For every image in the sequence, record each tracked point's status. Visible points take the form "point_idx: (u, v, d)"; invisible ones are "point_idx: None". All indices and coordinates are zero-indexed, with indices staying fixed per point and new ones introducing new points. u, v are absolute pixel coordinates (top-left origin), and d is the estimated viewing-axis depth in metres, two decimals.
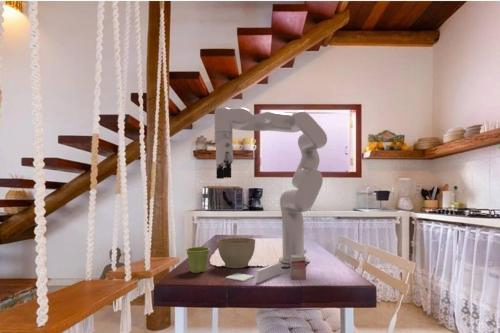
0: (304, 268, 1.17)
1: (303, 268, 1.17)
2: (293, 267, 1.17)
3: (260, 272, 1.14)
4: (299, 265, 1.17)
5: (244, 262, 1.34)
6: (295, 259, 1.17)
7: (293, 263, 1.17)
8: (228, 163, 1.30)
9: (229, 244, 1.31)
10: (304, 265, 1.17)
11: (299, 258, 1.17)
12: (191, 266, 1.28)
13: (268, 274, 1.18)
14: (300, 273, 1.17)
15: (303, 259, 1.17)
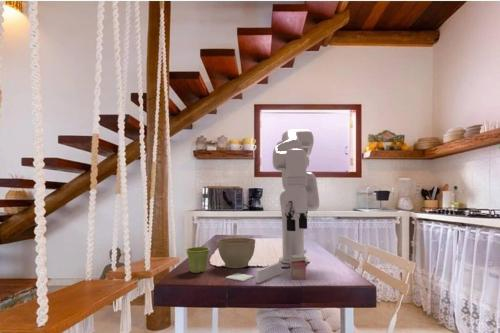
0: (304, 268, 1.17)
1: (303, 268, 1.17)
2: (293, 267, 1.17)
3: (260, 272, 1.14)
4: (299, 265, 1.17)
5: (244, 262, 1.34)
6: (295, 259, 1.17)
7: (293, 263, 1.17)
8: None
9: (229, 244, 1.31)
10: (304, 265, 1.17)
11: (299, 258, 1.17)
12: (191, 266, 1.28)
13: (268, 274, 1.18)
14: (300, 274, 1.17)
15: (303, 259, 1.17)
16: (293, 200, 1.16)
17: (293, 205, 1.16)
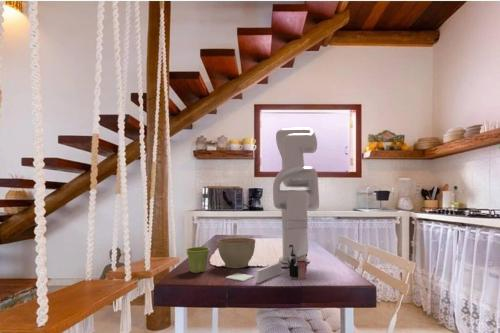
0: (304, 268, 1.17)
1: (303, 267, 1.17)
2: None
3: (260, 272, 1.14)
4: (299, 265, 1.17)
5: (244, 262, 1.34)
6: None
7: None
8: None
9: (229, 244, 1.31)
10: (304, 265, 1.17)
11: (299, 258, 1.17)
12: (191, 266, 1.28)
13: (268, 274, 1.18)
14: (300, 273, 1.17)
15: (303, 259, 1.17)
16: (294, 244, 1.15)
17: (294, 249, 1.15)
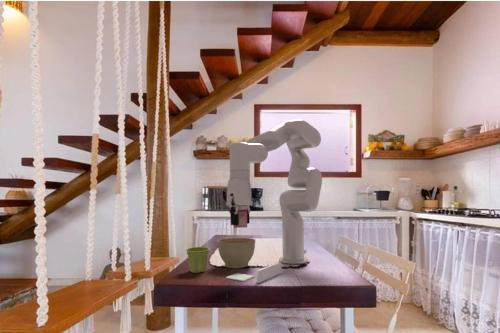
0: (245, 217, 1.19)
1: (244, 216, 1.19)
2: None
3: (260, 272, 1.14)
4: (241, 213, 1.19)
5: (244, 262, 1.34)
6: None
7: None
8: None
9: (229, 244, 1.31)
10: (245, 214, 1.19)
11: (240, 207, 1.19)
12: (191, 266, 1.28)
13: (268, 274, 1.18)
14: (241, 222, 1.19)
15: (244, 208, 1.20)
16: (234, 193, 1.17)
17: (234, 198, 1.17)
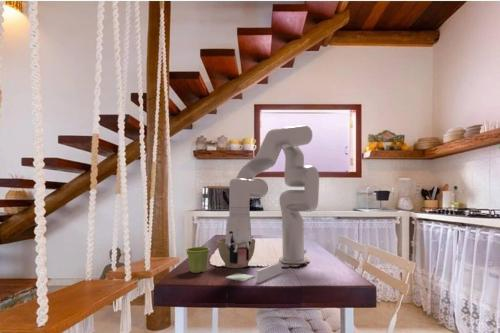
0: (244, 254, 1.18)
1: (244, 254, 1.18)
2: None
3: (260, 272, 1.14)
4: (240, 251, 1.18)
5: None
6: None
7: None
8: None
9: None
10: (245, 251, 1.18)
11: (240, 245, 1.18)
12: (191, 266, 1.28)
13: (268, 274, 1.18)
14: (241, 260, 1.18)
15: (244, 246, 1.18)
16: (234, 231, 1.16)
17: (233, 236, 1.16)
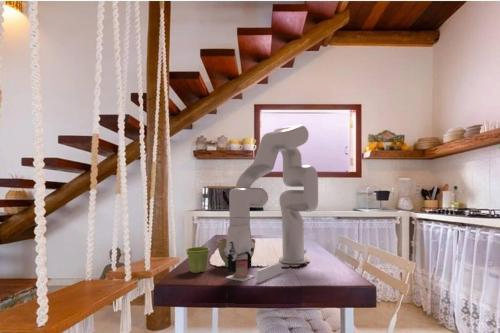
0: (246, 267, 1.18)
1: (245, 266, 1.18)
2: None
3: (260, 272, 1.14)
4: (241, 263, 1.18)
5: None
6: (237, 258, 1.18)
7: None
8: None
9: None
10: (246, 264, 1.18)
11: (241, 257, 1.18)
12: (191, 266, 1.28)
13: (268, 274, 1.18)
14: (242, 272, 1.18)
15: (245, 258, 1.18)
16: (234, 241, 1.16)
17: (234, 246, 1.16)
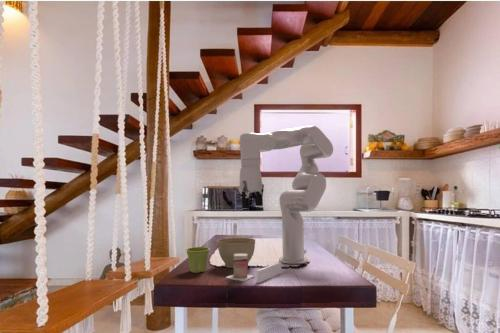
0: (246, 267, 1.18)
1: (245, 266, 1.18)
2: (235, 266, 1.18)
3: (260, 272, 1.14)
4: (241, 263, 1.18)
5: None
6: (237, 258, 1.18)
7: (235, 262, 1.18)
8: None
9: (229, 244, 1.31)
10: (246, 264, 1.18)
11: (241, 257, 1.18)
12: (191, 266, 1.28)
13: (268, 274, 1.18)
14: (242, 272, 1.18)
15: (245, 258, 1.18)
16: (247, 180, 1.26)
17: (247, 185, 1.26)
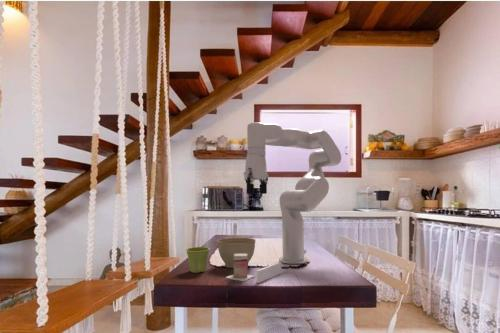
0: (246, 267, 1.18)
1: (245, 266, 1.18)
2: (235, 266, 1.18)
3: (260, 272, 1.14)
4: (241, 263, 1.18)
5: None
6: (237, 258, 1.18)
7: (235, 262, 1.18)
8: None
9: (229, 244, 1.31)
10: (246, 264, 1.18)
11: (241, 257, 1.18)
12: (191, 266, 1.28)
13: (268, 274, 1.18)
14: (242, 272, 1.18)
15: (245, 258, 1.18)
16: (252, 167, 1.31)
17: (252, 171, 1.31)
